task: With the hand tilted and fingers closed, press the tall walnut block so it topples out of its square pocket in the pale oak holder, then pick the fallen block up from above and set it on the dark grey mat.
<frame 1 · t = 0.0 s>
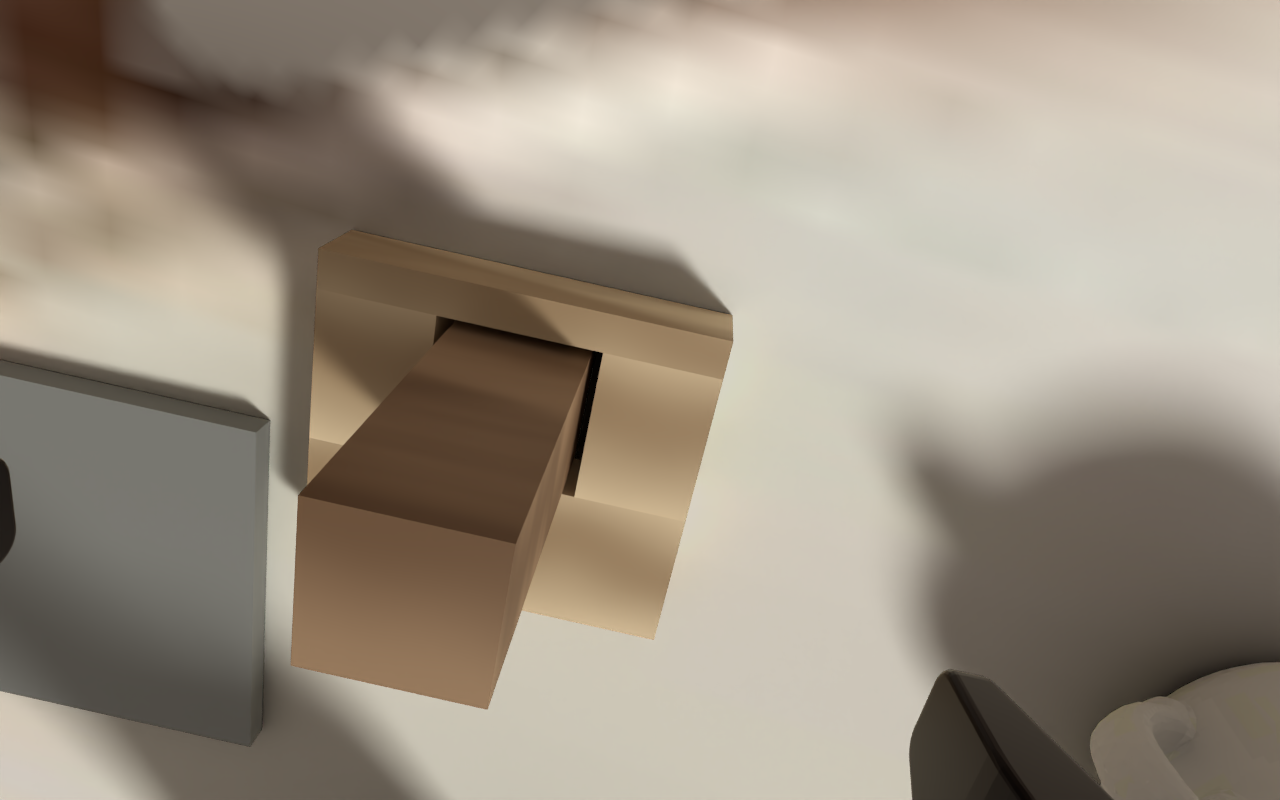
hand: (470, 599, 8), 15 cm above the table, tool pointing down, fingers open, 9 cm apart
oak holder: (524, 379, 23), on the table
walnut block: (476, 465, 19), point 5 cm above the table
teacup: (1207, 713, 26), on the table
grey mat: (78, 546, 27), on the table
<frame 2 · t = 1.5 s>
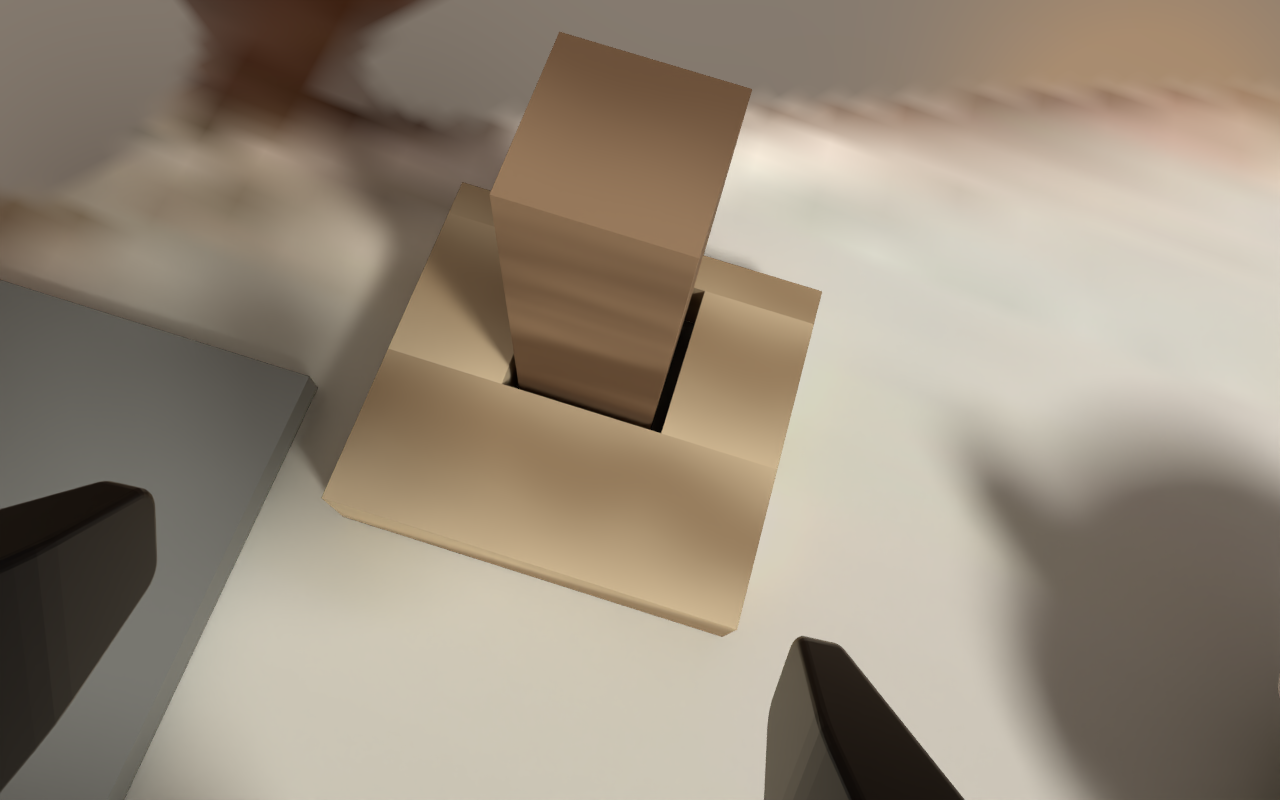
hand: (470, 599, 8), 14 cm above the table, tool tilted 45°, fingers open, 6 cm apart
oak holder: (603, 365, 24), on the table
walnut block: (611, 280, 19), point 5 cm above the table
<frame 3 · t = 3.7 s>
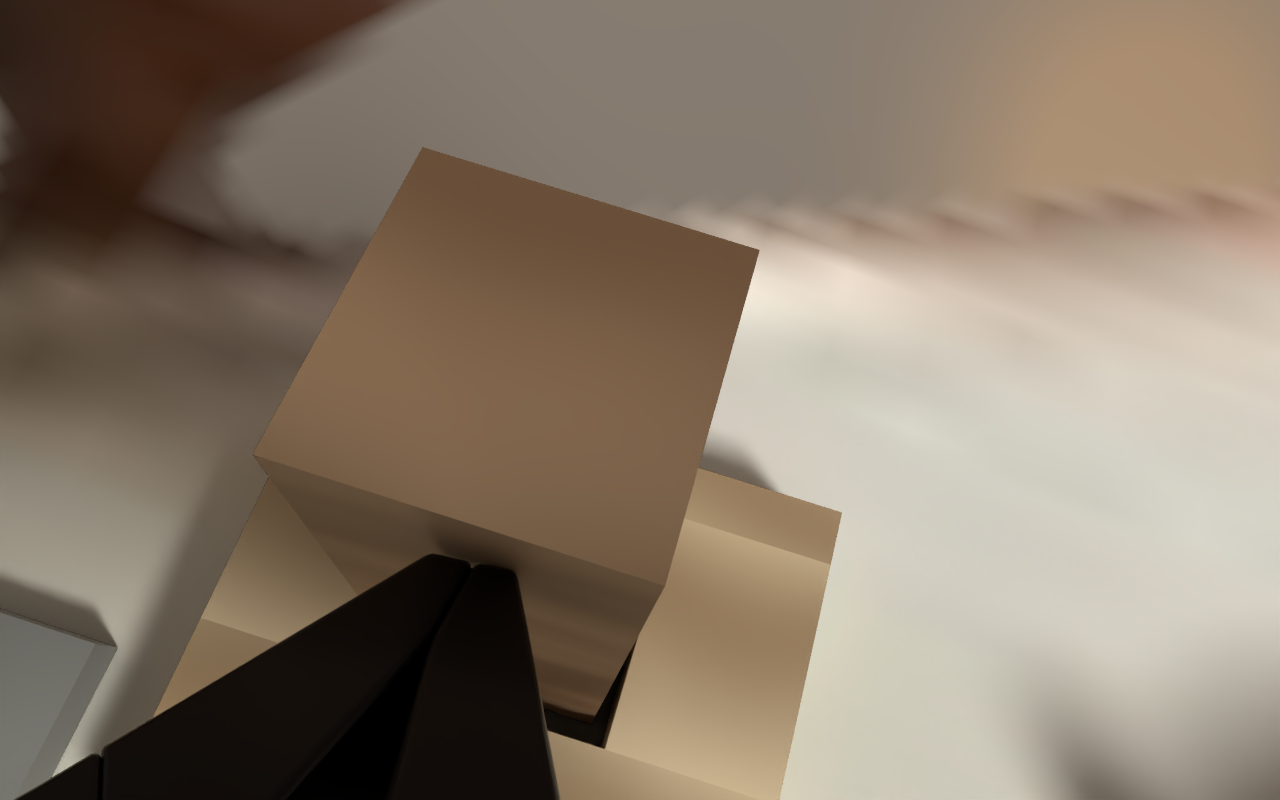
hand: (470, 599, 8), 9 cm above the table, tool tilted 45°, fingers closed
oak holder: (532, 605, 17), on the table
walnut block: (531, 520, 12), point 5 cm above the table, tilted 6°, touching gripper
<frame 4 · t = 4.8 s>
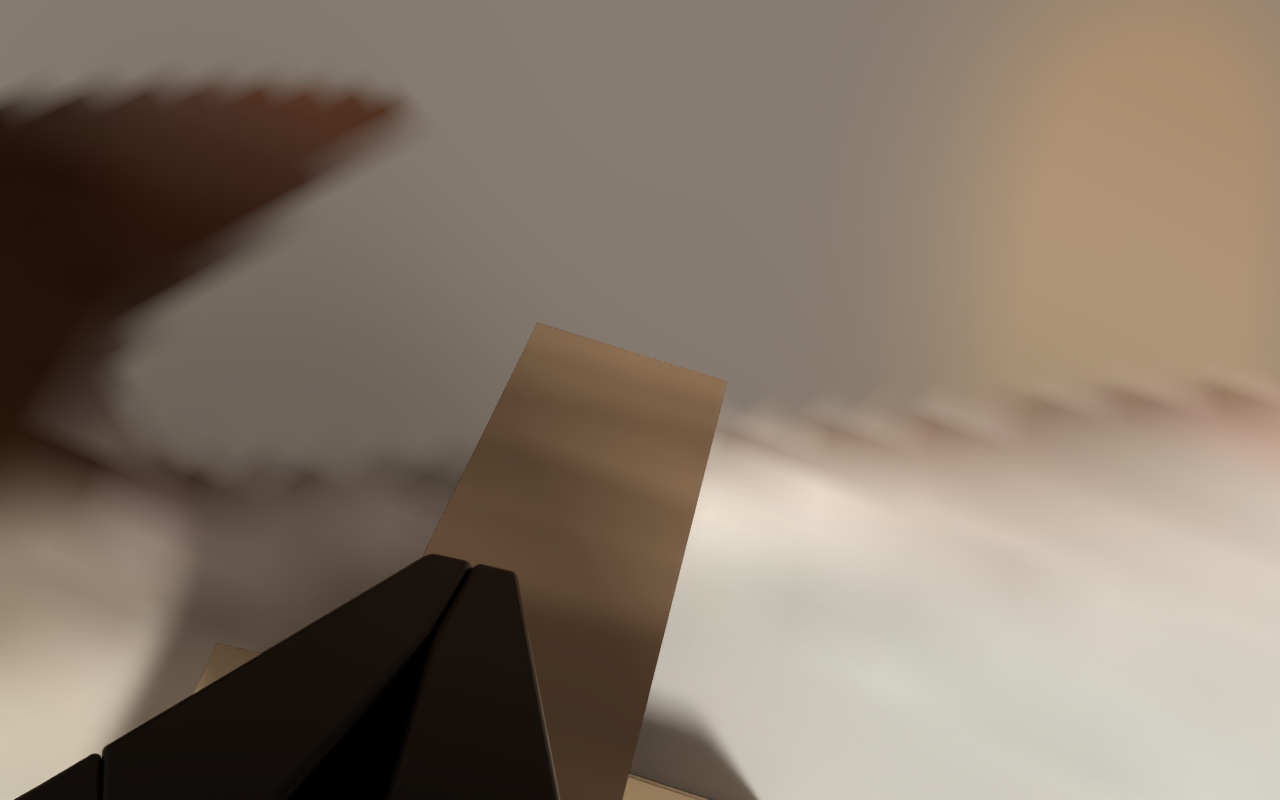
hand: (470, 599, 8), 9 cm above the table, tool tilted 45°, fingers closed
walnut block: (531, 650, 13), point 3 cm above the table, tilted 110°, touching oak holder
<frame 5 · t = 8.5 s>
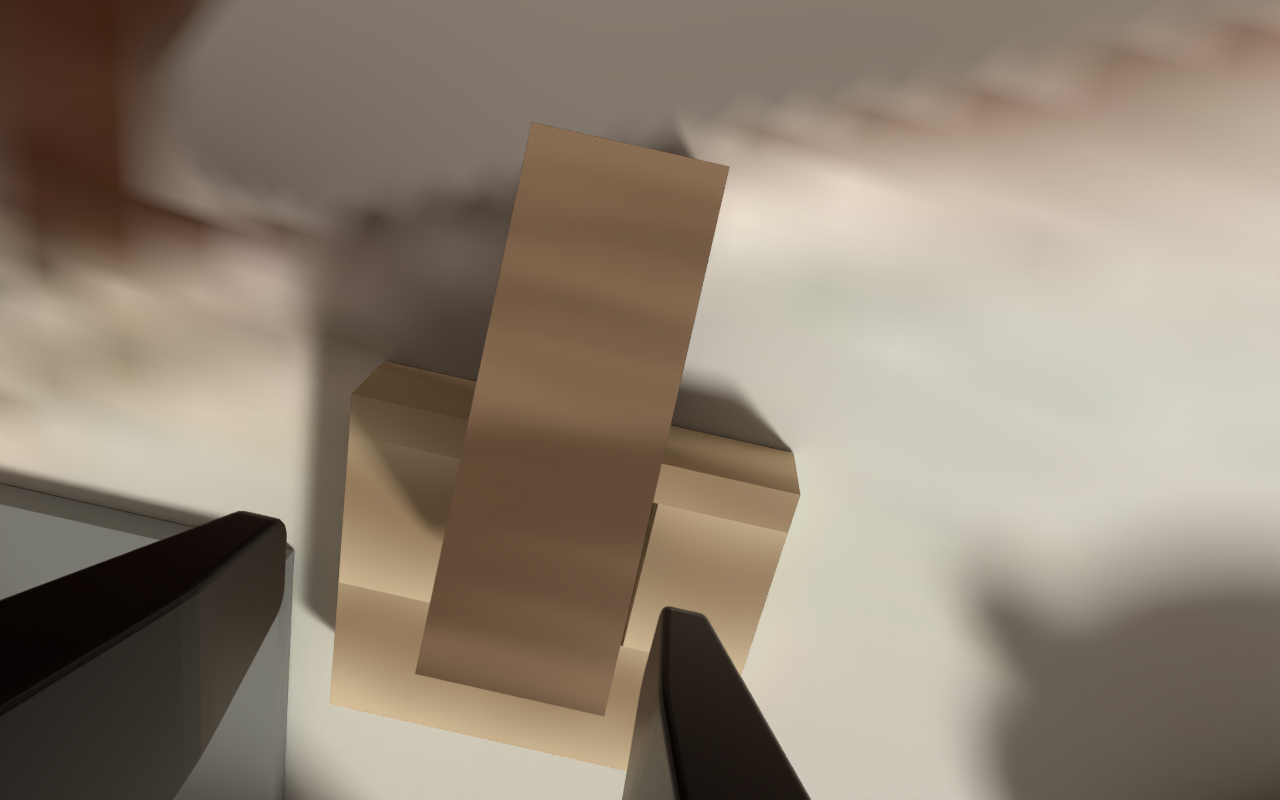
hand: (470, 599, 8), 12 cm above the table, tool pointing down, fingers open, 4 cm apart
oak holder: (568, 513, 22), on the table
walnut block: (577, 417, 17), point 3 cm above the table, tilted 110°, touching oak holder
grey mat: (89, 671, 25), on the table
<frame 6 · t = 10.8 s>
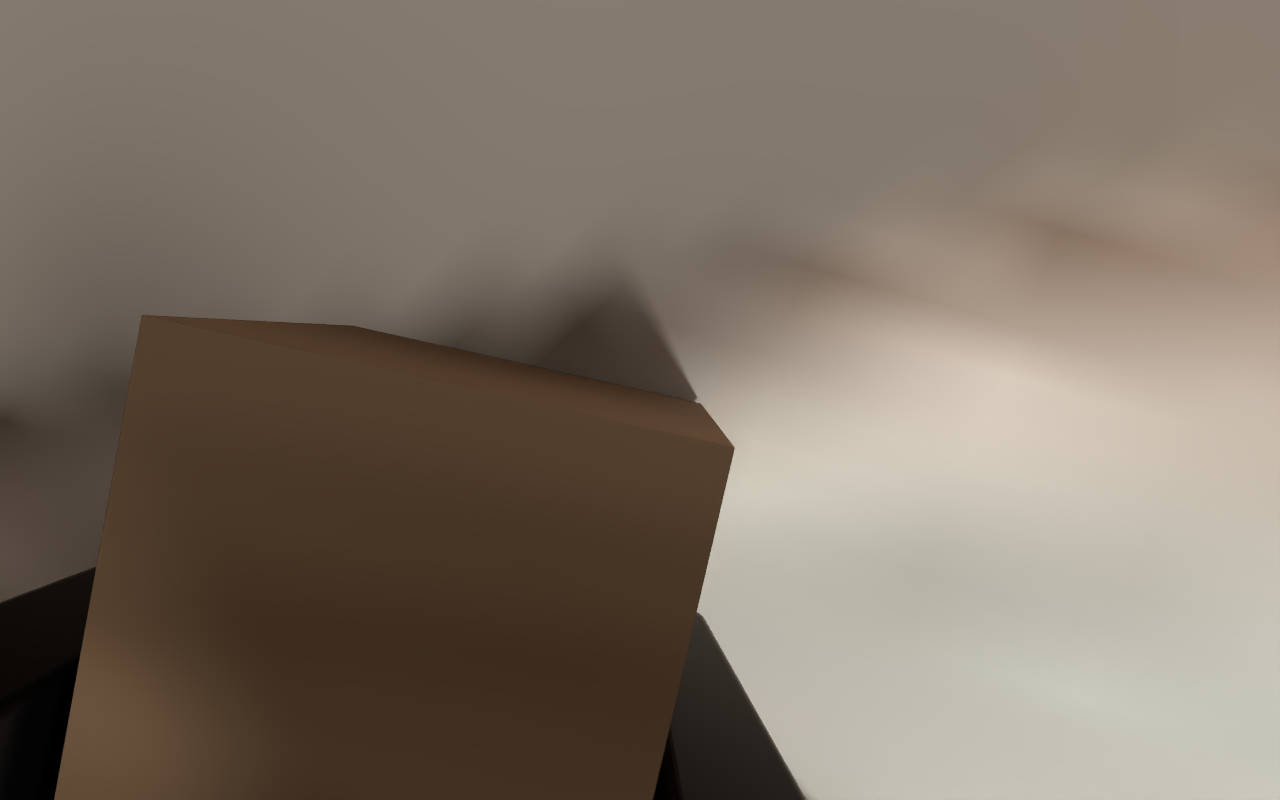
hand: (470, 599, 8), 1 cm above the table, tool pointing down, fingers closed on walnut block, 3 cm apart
when the fingers open (3 cm above the table, at t = 14.8 s): walnut block drops 3 cm and tips over, resting on grey mat.
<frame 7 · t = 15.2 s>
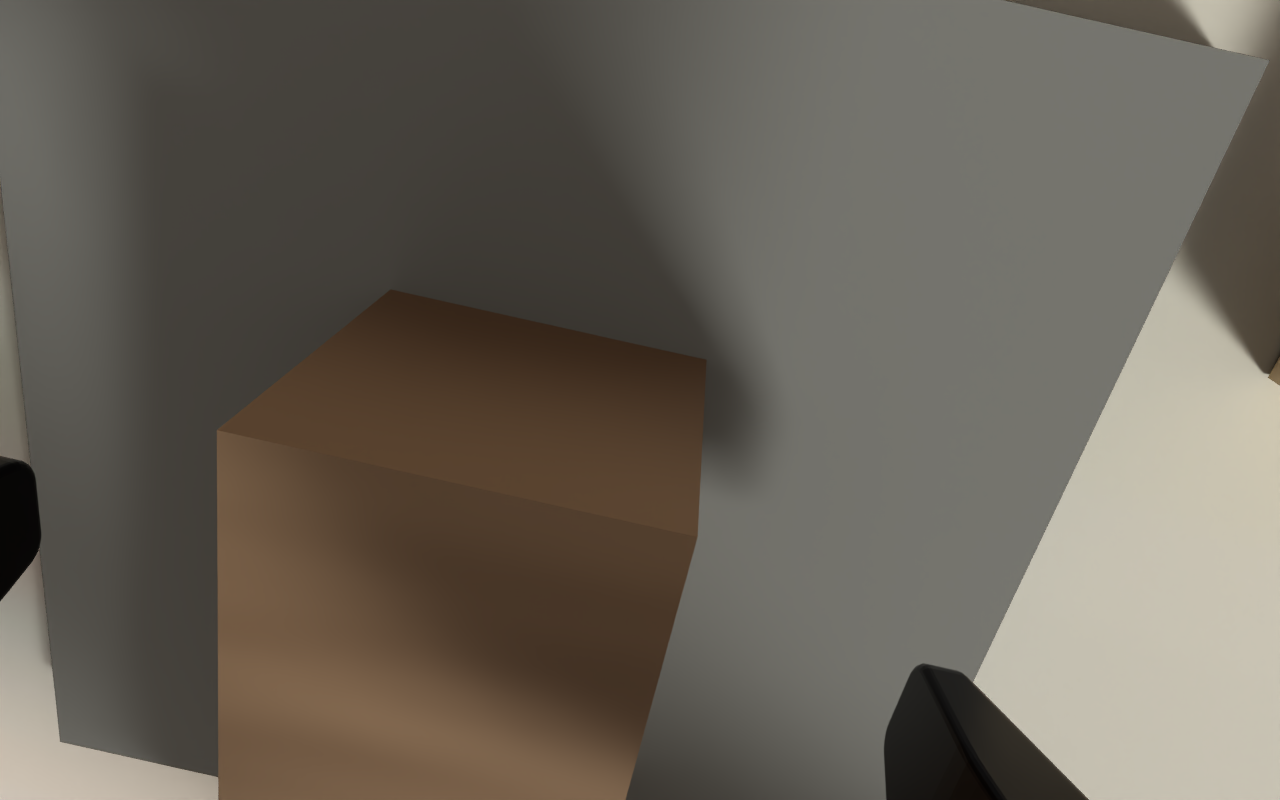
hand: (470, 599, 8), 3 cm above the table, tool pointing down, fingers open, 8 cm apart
walnut block: (451, 781, 10), point 3 cm above the table, tilted 90°, touching grey mat
grey mat: (532, 452, 11), on the table
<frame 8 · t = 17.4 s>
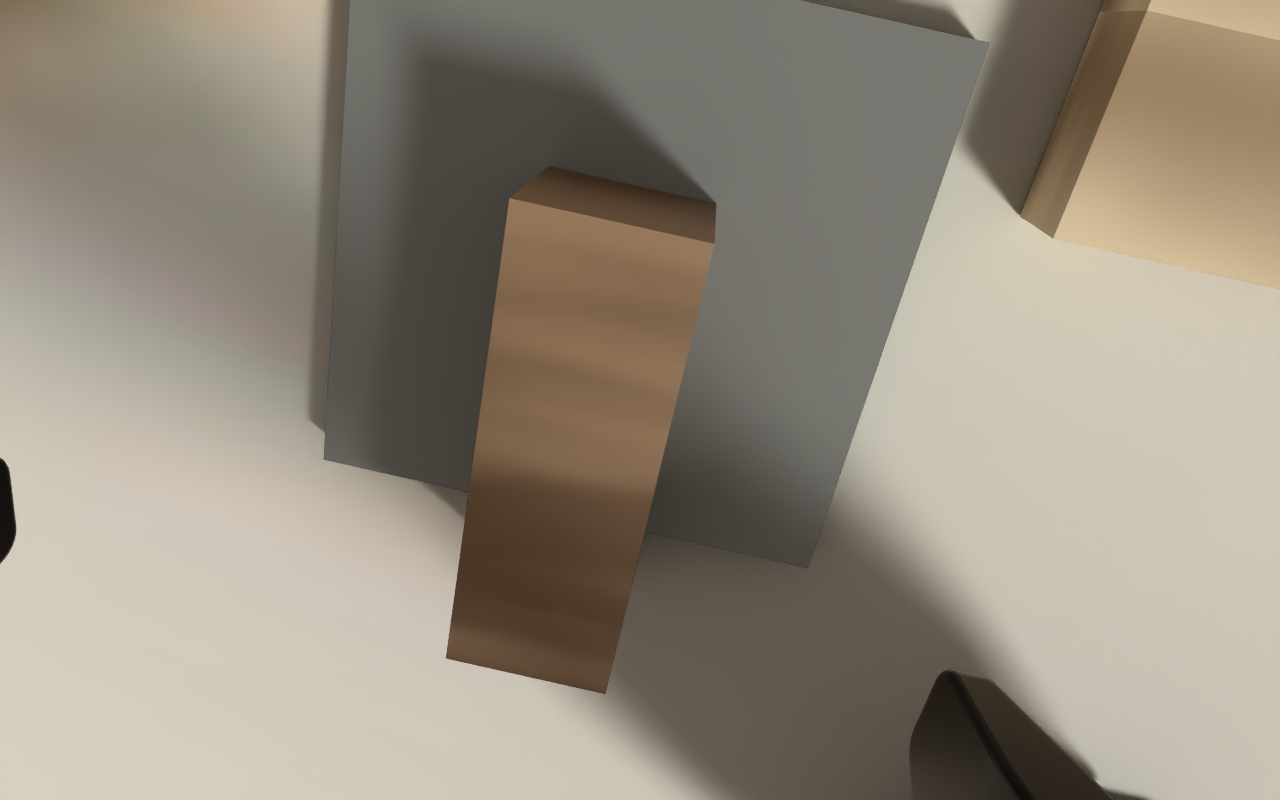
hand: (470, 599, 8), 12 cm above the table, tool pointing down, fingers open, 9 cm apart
walnut block: (577, 436, 18), point 3 cm above the table, tilted 90°, touching grey mat
grey mat: (616, 269, 19), on the table
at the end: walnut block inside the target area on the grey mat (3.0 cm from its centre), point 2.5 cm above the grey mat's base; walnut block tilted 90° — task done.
